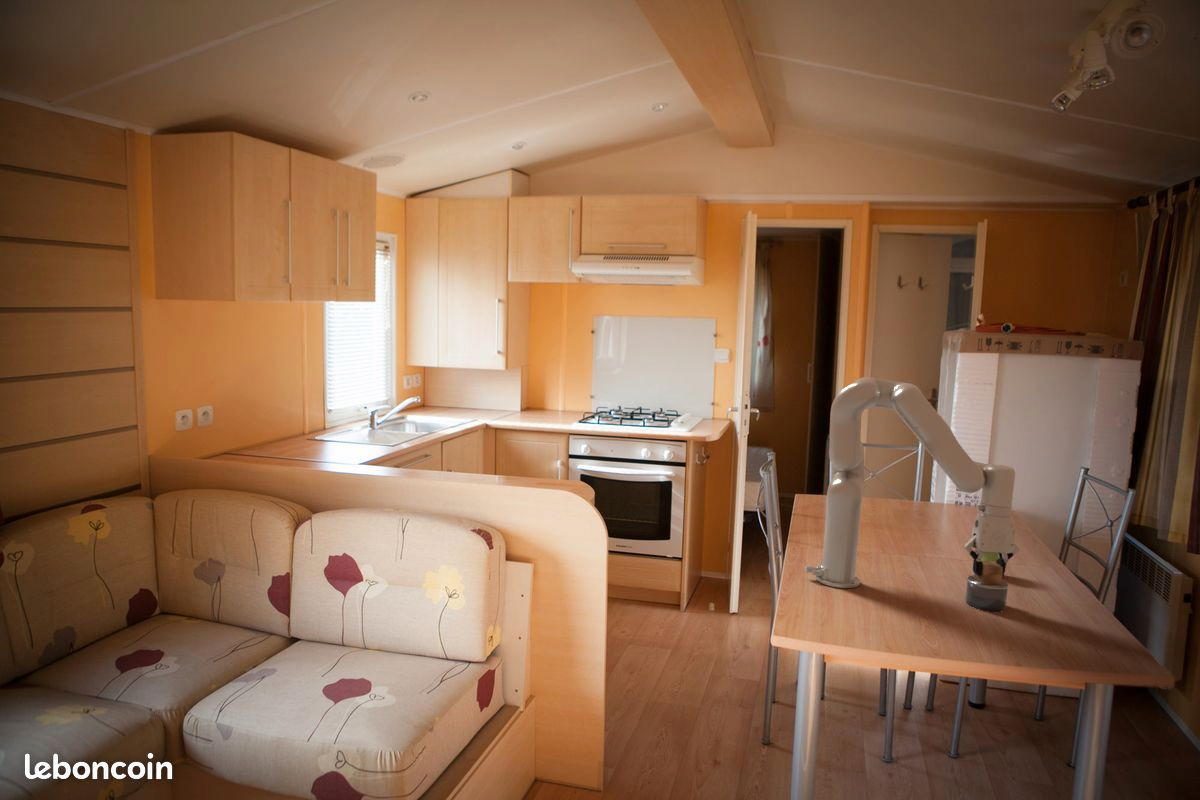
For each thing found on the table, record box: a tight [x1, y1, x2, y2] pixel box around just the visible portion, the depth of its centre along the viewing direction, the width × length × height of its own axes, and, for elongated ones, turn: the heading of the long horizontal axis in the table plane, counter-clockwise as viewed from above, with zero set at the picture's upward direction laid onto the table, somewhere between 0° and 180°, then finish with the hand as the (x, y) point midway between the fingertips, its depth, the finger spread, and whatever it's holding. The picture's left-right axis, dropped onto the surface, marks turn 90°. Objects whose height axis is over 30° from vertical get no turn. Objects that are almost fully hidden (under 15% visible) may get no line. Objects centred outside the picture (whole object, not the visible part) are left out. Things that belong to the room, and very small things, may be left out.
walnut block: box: [973, 561, 1003, 585], centre depth 222 cm, size 5×5×5 cm
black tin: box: [965, 575, 1009, 613], centre depth 223 cm, size 10×10×7 cm
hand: (988, 574), depth 222 cm, fingers open, 5 cm apart
